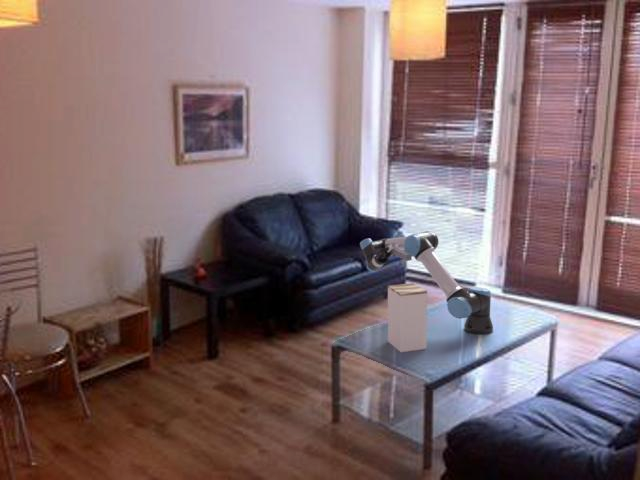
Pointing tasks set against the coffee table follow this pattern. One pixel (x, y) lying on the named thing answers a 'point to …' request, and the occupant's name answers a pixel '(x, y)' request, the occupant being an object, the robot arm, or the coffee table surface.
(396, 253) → the metal bar
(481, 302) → the robot arm
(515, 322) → the coffee table surface
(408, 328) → the pedestal
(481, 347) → the coffee table surface
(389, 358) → the coffee table surface
